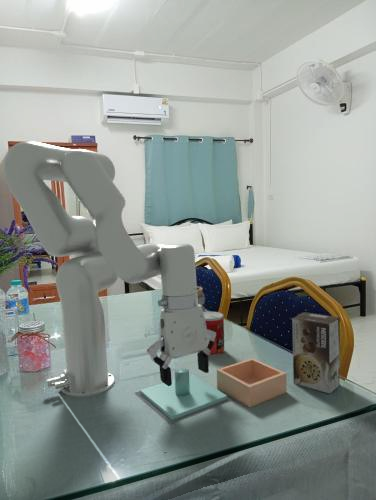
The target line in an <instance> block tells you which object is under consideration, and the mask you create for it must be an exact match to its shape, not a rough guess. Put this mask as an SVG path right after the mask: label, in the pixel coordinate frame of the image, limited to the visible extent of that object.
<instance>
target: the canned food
mask: <svg viewBox="0 0 376 500" xmlns="http://www.w3.org/2000/svg"><path fill="white" fill-rule="evenodd" d="M203 313H204V317H205V322H206V328H207V329H208V330H211V331H214V332H216V337H215V340H214V345H213V346H212V348H211V350H210V354H209V355H216V354H219V355H221V354H223V353H224V351H225V326H224V325H225V323H224V322H225V320H224V319H225V318H224V317H225V316H224V314H223V313H222V312H219V311H206V312H203ZM199 352H200V351H199Z"/></svg>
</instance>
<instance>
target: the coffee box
mask: <svg viewBox="0 0 376 500" xmlns="http://www.w3.org/2000/svg"><path fill="white" fill-rule="evenodd" d="M340 318H341V317H339V316H332V315H325V314H319V313H312V312H304V311H303V312H301V313H299V314H298V315H297V316H294V317H292V362H293V363H292V365H293V368H292V371H293V372H292V373H293V374H292V377H293V380H292V381H293V384H294V385H298V386H301V387H305V388H309V389H313V390H315V391H319V392H323V393H327V394H332V392H333V391H335V390H336V389H337V388H338V387H339V386H340V384H341V381H340V379H341V378H340V377H341V376H340V375H341V369H340V368H341V365H340V364H341V363H340V362H341V361H340V360H341V359H340V355H341V354H340V351H341V347H340V346H341V345H340V344H341V343H340V341H341V340H340V339H341V338H340V336H341V335H340V333H341V330H340V329H341V326H340V324H341V320H340Z"/></svg>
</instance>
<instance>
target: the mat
mask: <svg viewBox="0 0 376 500" xmlns="http://www.w3.org/2000/svg"><path fill="white" fill-rule="evenodd" d="M204 382H205V381H204ZM205 383H207V382H205ZM134 395H136V397H138V398H139V399H140V400H142V401H143V402H144V404H146V405H147V406H148V407H150V408H151V409H152V410H153V411H154V412H156V414H158V415H159V416H160V417H161V418H162V419H163V420H165V421H166V423H168V424H169V425H173V424H175V423H178V422H180V421H183V420H185V419H189V418H190V417H191V418H192V417H193V416H196V415H198V414H201V413H203V412H206V411H208V410H211V409H214V408H216V407H219V406H221V405H224V404H227V403H229V402H231V401H234V398H233V397H231V396H229V395H227V399H226V400H224V401H221V402H219V403H216V404H213V405H211V406H208V407H205V408H203V409H200V410H198V411H195V412H192V413H190V414H187V415H185V416H182V417H179V418H177V419H174V420H171V419H170V418H169V417H168V416H166V415H165V414H164V413H163V412H162V411H160V410H159V409H158V408H157V407H156V406H155V405H153V404H152V403H151V402H150V401H149V400H148V399H146V398H145V397H144V396H143V395H142V394H140V390H138V391H137V392H134Z"/></svg>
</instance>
